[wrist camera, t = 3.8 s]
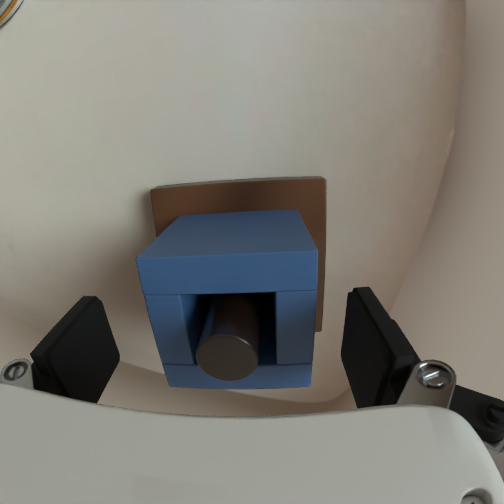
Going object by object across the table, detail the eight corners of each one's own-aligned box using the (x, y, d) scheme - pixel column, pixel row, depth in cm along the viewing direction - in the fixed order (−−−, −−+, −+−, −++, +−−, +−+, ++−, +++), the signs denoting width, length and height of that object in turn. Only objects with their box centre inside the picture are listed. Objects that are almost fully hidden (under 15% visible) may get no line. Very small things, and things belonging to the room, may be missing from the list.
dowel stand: (322, 176, 15) (383, 213, 7) (318, 321, 19) (347, 430, 10) (157, 186, 16) (66, 231, 8) (179, 325, 19) (138, 428, 11)
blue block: (297, 208, 15) (318, 250, 9) (297, 312, 17) (310, 387, 11) (179, 215, 15) (134, 257, 10) (194, 315, 17) (168, 387, 12)
